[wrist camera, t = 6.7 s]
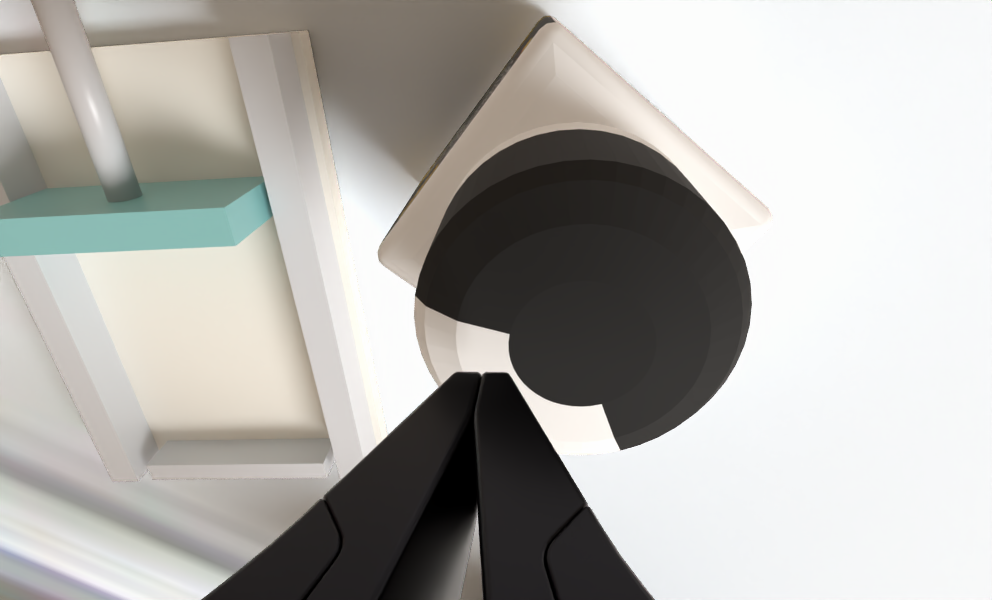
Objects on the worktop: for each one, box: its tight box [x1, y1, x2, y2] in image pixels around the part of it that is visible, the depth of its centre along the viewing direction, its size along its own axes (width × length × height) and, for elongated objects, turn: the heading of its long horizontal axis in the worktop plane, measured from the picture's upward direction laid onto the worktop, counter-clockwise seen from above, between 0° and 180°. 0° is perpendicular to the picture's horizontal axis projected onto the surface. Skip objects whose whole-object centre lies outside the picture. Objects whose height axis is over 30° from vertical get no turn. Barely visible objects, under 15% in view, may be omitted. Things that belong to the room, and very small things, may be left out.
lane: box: [0, 30, 388, 482], centre depth 22 cm, size 17×12×2 cm
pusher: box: [0, 0, 273, 257], centre depth 18 cm, size 8×8×4 cm
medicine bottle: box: [378, 16, 772, 455], centre depth 15 cm, size 7×7×12 cm
